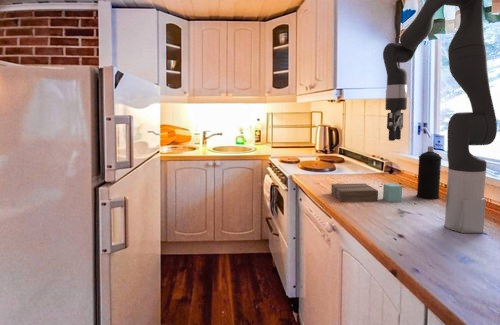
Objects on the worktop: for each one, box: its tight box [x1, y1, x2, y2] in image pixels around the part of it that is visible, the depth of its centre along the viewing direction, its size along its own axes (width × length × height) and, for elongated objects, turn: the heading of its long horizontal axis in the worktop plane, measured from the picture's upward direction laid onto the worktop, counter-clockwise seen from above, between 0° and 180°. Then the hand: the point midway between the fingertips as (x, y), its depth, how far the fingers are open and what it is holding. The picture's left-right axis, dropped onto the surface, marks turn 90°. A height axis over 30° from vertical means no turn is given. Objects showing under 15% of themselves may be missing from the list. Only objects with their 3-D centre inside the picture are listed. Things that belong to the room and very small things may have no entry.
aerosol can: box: [415, 145, 443, 200], centre depth 142 cm, size 8×8×20 cm
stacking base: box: [331, 183, 379, 203], centre depth 144 cm, size 14×14×4 cm
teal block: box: [382, 183, 403, 203], centre depth 138 cm, size 5×5×6 cm
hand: (394, 140), depth 140 cm, fingers open, 8 cm apart
